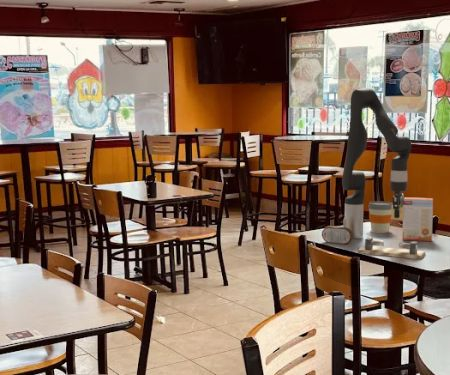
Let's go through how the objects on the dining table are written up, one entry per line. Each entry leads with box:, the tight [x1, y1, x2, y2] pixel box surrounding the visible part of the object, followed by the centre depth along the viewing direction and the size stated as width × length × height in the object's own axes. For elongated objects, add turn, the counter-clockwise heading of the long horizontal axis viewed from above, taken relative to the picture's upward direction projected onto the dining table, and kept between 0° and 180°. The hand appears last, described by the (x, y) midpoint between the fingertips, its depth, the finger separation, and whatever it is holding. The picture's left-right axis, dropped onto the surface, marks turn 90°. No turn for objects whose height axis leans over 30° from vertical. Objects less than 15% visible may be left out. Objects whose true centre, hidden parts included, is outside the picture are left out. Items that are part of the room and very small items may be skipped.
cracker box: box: [401, 196, 434, 242], centre depth 343 cm, size 14×6×21 cm, turn 71°
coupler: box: [391, 205, 405, 221], centre depth 319 cm, size 5×4×6 cm
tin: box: [321, 225, 354, 245], centre depth 336 cm, size 15×3×8 cm, turn 65°
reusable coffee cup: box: [368, 200, 393, 234], centre depth 366 cm, size 13×13×15 cm
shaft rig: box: [357, 237, 426, 260], centre depth 313 cm, size 28×10×6 cm, turn 63°
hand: (397, 217), depth 320 cm, fingers closed on coupler, 4 cm apart
